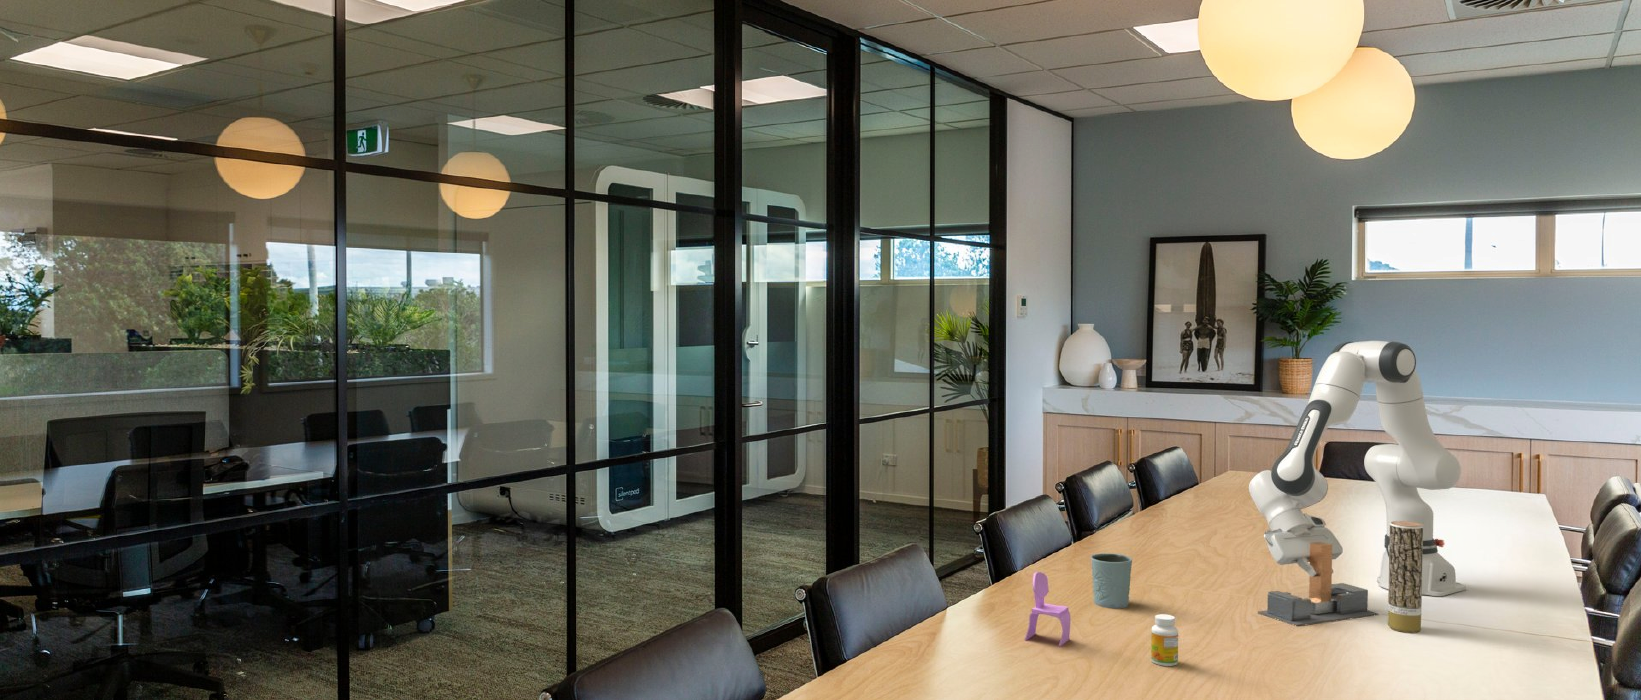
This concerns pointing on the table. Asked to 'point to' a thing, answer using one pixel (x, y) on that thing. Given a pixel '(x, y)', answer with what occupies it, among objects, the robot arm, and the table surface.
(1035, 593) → the toy chair
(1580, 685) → the table surface
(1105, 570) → the grey-green cup
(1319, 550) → the brown piece
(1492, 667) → the table surface
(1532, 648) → the table surface
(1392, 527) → the paper tube
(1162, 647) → the supplement bottle
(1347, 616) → the grey rectangular plate
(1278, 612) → the socket
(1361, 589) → the grey u-shaped block
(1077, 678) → the table surface
